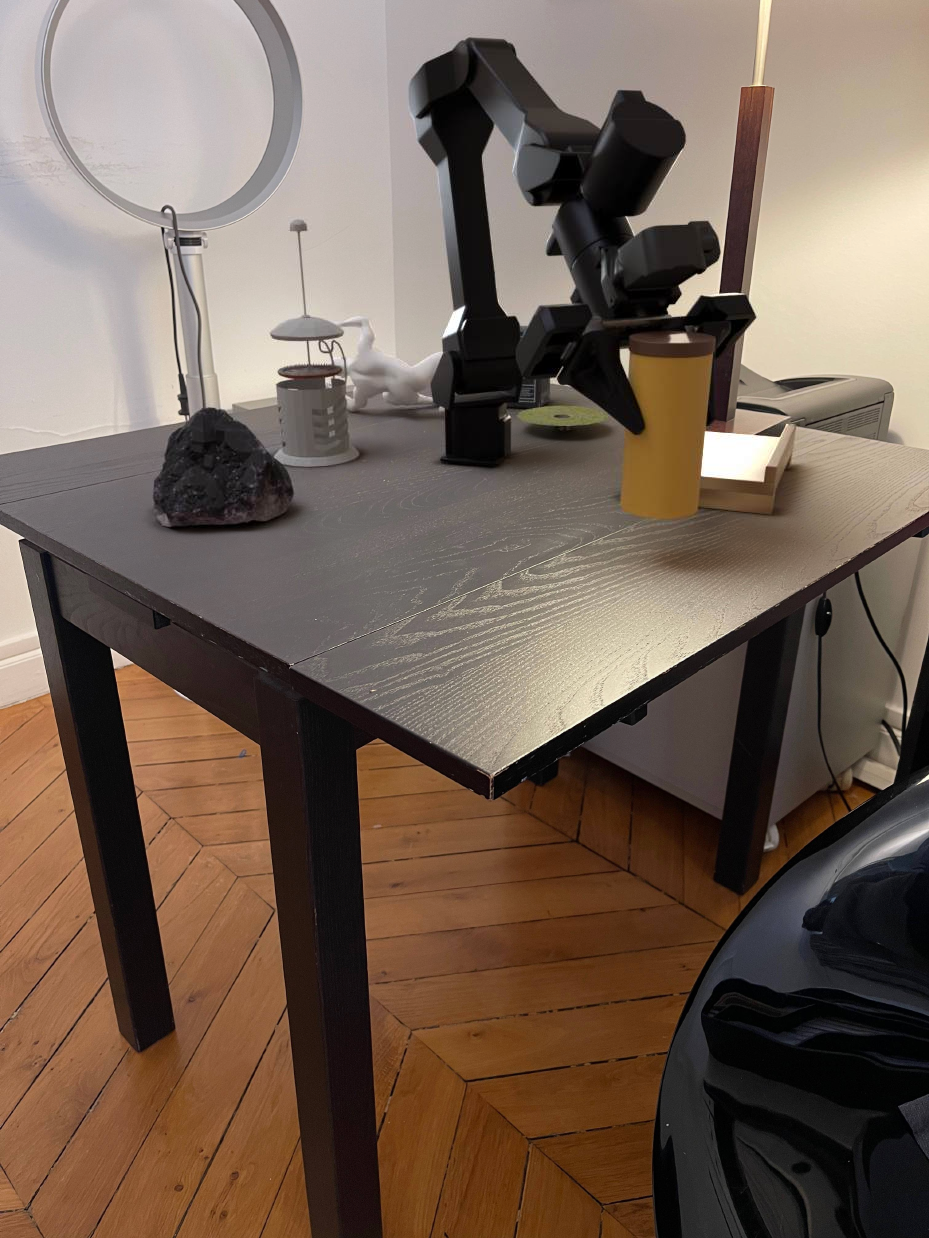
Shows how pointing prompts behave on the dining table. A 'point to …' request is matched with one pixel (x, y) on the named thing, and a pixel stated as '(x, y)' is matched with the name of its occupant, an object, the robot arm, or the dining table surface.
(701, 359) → the tea tin
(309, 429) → the french press
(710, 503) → the oak shelf
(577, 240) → the robot arm
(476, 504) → the dining table surface
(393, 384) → the white curved figure
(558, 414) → the green disc
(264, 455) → the crystal cluster
